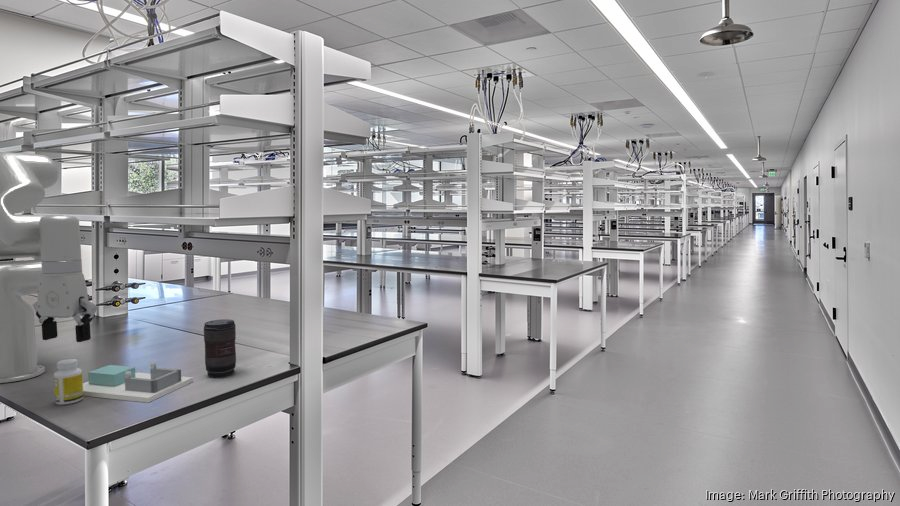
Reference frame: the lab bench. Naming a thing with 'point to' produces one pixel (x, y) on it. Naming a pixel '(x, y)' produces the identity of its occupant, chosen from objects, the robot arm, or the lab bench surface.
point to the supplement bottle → (68, 382)
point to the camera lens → (220, 347)
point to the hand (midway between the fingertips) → (66, 339)
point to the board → (141, 385)
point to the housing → (110, 375)
